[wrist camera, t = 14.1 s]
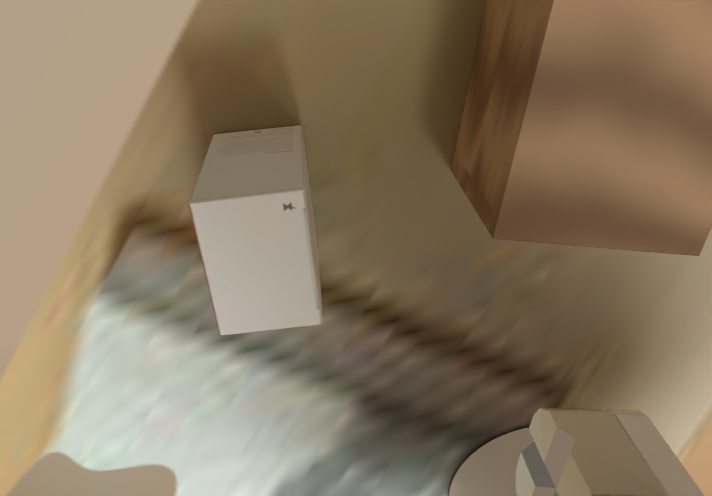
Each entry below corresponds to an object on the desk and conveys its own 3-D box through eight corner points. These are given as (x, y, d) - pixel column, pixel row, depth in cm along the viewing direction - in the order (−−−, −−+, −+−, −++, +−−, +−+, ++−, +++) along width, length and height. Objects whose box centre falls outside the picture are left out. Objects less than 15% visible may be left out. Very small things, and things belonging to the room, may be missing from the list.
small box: (212, 131, 38) (184, 198, 29) (303, 122, 38) (305, 185, 29) (235, 247, 42) (216, 339, 33) (318, 238, 42) (323, 327, 33)
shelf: (614, 186, 42) (698, 256, 33) (450, 170, 41) (493, 238, 32) (693, -45, 36) (822, -35, 27) (502, -74, 34) (572, -74, 25)
